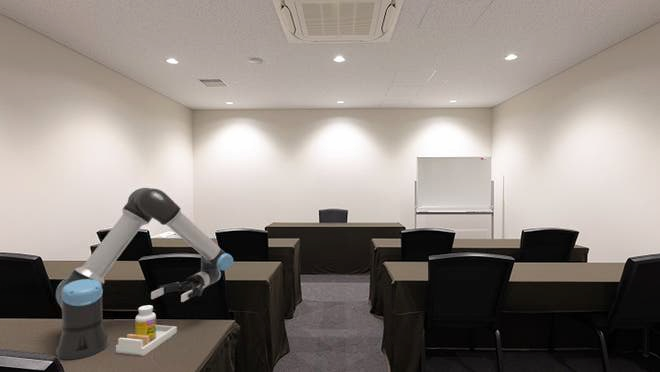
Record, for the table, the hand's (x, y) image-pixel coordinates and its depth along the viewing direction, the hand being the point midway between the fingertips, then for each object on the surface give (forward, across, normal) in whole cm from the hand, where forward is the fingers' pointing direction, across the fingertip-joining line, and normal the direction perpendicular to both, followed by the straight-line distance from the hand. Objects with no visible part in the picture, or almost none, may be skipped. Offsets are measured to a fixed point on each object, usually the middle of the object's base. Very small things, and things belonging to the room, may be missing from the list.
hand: (166, 297), depth 139 cm
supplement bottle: (+12, 0, -13) cm, 17 cm away
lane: (+11, 0, -13) cm, 17 cm away
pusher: (+16, 0, -13) cm, 20 cm away
